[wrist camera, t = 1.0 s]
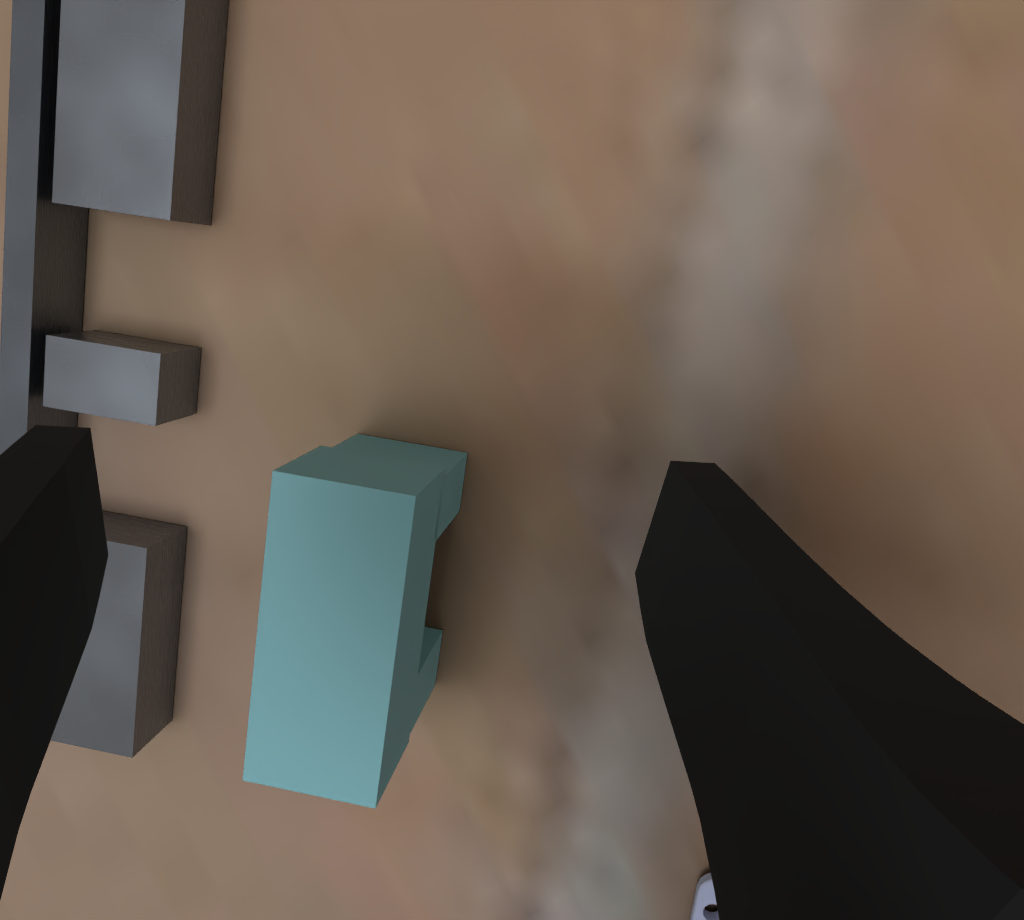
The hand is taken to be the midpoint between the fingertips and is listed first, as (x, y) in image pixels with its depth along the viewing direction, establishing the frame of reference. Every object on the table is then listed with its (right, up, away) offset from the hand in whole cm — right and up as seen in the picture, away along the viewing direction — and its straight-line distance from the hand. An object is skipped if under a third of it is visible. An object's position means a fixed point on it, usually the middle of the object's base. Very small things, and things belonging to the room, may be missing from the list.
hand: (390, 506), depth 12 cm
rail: (-8, +3, +13) cm, 16 cm away
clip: (-2, -2, +14) cm, 14 cm away
